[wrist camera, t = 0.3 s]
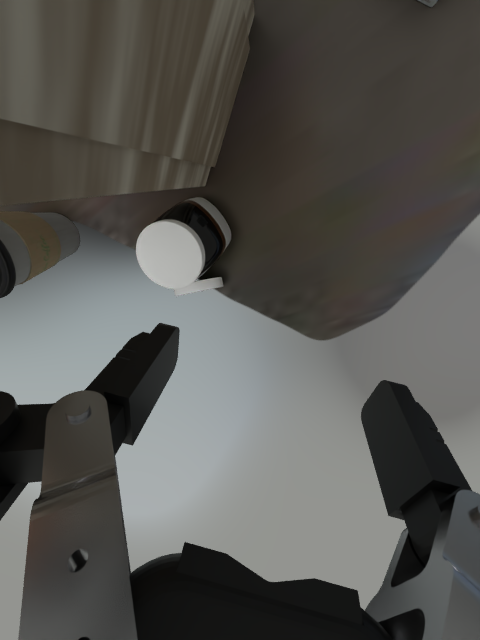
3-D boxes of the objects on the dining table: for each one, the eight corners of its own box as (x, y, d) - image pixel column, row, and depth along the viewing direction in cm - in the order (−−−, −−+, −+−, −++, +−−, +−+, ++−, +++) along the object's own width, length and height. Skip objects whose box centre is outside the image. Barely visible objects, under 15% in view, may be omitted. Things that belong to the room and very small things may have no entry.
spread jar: (204, 185, 33) (175, 187, 22) (258, 255, 36) (254, 284, 26) (145, 244, 37) (98, 269, 27) (198, 301, 41) (175, 342, 30)
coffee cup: (99, 266, 39) (14, 308, 26) (42, 264, 40) (-68, 304, 27) (81, 198, 35) (-33, 209, 22) (17, 197, 36) (-129, 207, 23)
